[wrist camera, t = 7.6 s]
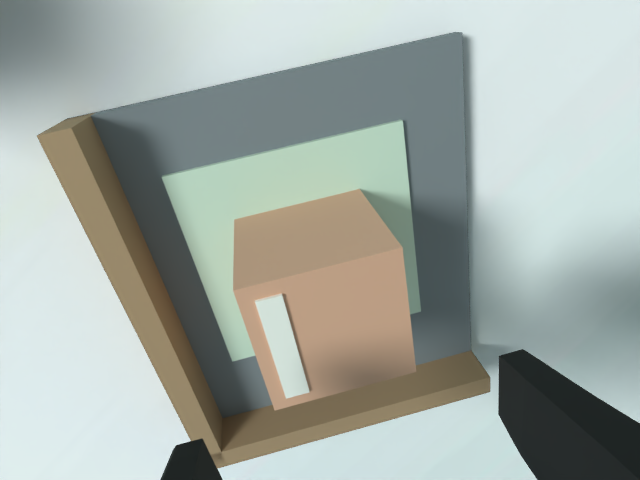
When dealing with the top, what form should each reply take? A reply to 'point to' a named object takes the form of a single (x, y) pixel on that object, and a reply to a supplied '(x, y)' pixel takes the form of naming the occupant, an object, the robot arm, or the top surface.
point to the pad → (286, 190)
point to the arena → (255, 137)
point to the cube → (323, 297)
